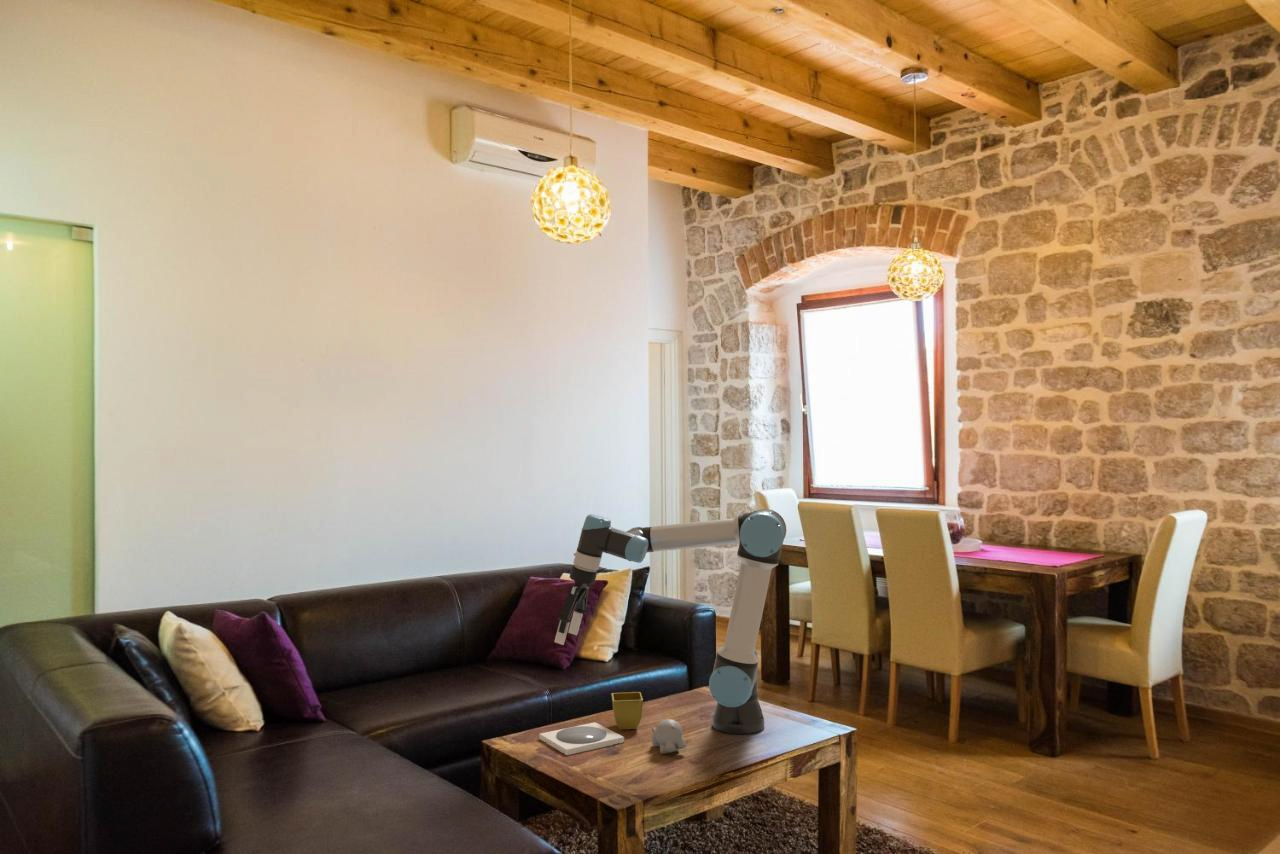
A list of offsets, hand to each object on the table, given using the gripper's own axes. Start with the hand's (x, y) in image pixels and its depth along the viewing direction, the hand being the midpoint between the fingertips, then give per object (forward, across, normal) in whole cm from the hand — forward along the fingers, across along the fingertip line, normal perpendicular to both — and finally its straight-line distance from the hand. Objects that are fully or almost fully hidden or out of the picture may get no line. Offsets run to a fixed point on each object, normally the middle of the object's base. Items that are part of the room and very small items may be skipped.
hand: (565, 638), depth 258 cm
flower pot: (+21, -8, +23) cm, 32 cm away
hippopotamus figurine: (+18, +10, +37) cm, 43 cm away
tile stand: (+24, +7, +14) cm, 28 cm away
